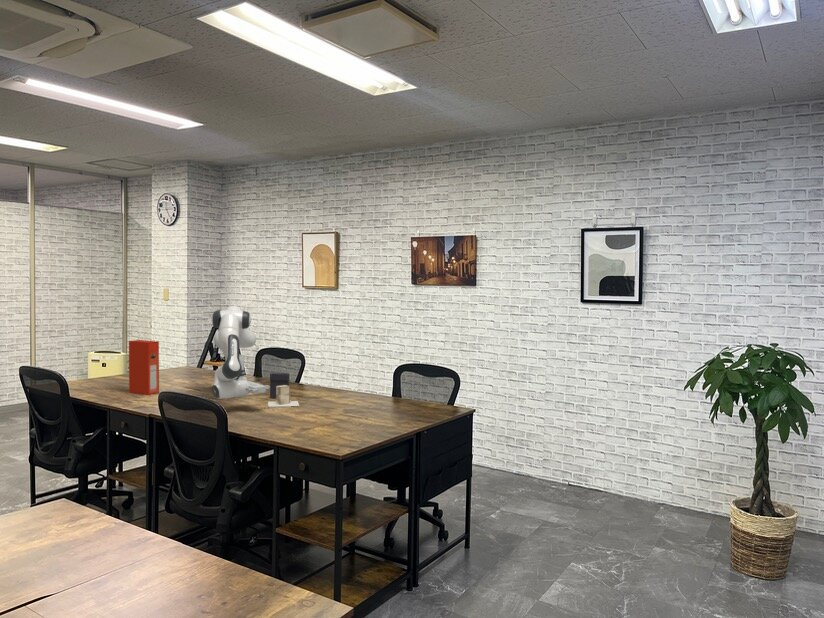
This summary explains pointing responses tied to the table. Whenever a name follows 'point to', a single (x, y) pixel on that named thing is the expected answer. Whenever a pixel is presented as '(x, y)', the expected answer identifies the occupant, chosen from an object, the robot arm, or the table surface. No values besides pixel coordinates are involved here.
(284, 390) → the block
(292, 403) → the mat
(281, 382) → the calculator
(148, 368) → the file binder
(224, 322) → the robot arm
